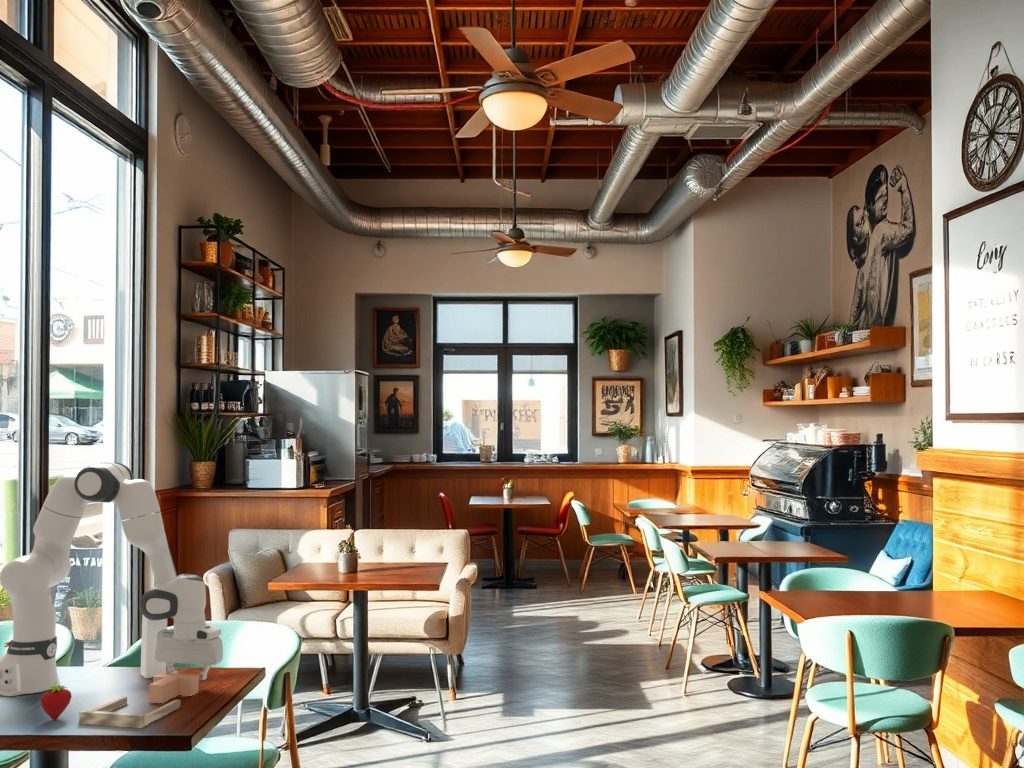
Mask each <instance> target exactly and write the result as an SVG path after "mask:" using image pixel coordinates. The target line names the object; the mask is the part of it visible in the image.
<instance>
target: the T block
mask: <svg viewBox="0 0 1024 768" xmlns="http://www.w3.org/2000/svg"><path fill="white" fill-rule="evenodd" d="M199 686H200V679H199V674H187V673H186V674H185V673H184V674H183V673H177V674H170V672H169V673H167V672H166V673H160V674H158V675H155V676H153V678H152V683H150V684H149V685H148V690H149V691H148V704H153V703H163V704H165V703H167V702H169V701H170V700H169V699H171V698H173V697H175V698H177V697H179V696H178V695H182V696H181V697H187V696H192V695H193V696H195V695H197V694H198V692H199V689H200V688H199ZM196 693H197V694H196ZM194 694H195V695H194ZM176 696H177V697H176ZM193 696H192V697H193ZM173 699H174V698H173ZM168 700H169V701H168ZM171 700H172V699H171ZM166 701H167V702H166ZM164 702H165V703H164Z"/></svg>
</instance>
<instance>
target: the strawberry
mask: <svg viewBox="0 0 1024 768" xmlns="http://www.w3.org/2000/svg"><path fill="white" fill-rule="evenodd" d="M55 684H56V683H55ZM55 684H54V685H55ZM50 688H51V689H47V690H45V691H46V692H45V691H44V692H45V693H43V695H41V698H40V704H41V708H42V709H43V710H44V713H45V714H47V716H49V717H50V719H51V720H54V721H55V720H58V719H59V717H60V716H61V715H62V714H63V712H64V711H66V709H67V707H68V706H69V704H70V702H71V699H72V692H71V691H70V690H69V689H67V688H68V687H65V685H61V686H60V685H59V686H56V687H55V686H54V687H50Z"/></svg>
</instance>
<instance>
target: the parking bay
mask: <svg viewBox="0 0 1024 768" xmlns="http://www.w3.org/2000/svg"><path fill="white" fill-rule="evenodd" d="M124 704H126V705H128V696H123V695H122V696H120V697H118V698H116V699H113V700H111V701H109V702H107V703H105V704H102V705H100V706H98V707H96V708H94V709H92V710H86V709H85V710H80V711H79V712H78V725H86V724H95V725H94V726H101V725H106V726H105V727H115V726H117V728H118V727H119V728H129V727H131V728H132V729H142V728H144V727H146V726H148V725H150V724H152V723H154V722H155V720H156V721H157V720H159V719H162V718H163V717H165V716H167V715H168V713H169V714H171V713H173V712H174V710H175V711H176V710H178V709H180V708H181V699H174V700H172V701H170V702H168V703H166V704H163V706H160V707H158V708H156V709H154V710H152V711H150V712H148V713H146V714H145V713H133V712H131V713H129V712H116V711H115V710H114V709H116V708H118V707H120V706H122V705H124ZM124 706H125V705H124ZM122 707H123V706H122ZM179 707H180V708H179ZM120 708H121V707H120ZM118 709H119V708H118ZM112 710H113V711H112ZM116 710H117V709H116ZM110 711H111V712H110ZM114 711H115V712H114ZM172 711H173V712H172ZM170 712H171V713H170ZM166 714H167V715H166ZM164 715H165V716H164ZM162 716H163V717H162ZM153 721H154V722H153ZM151 722H152V723H151ZM149 723H150V724H149Z"/></svg>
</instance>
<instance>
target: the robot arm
mask: <svg viewBox="0 0 1024 768" xmlns="http://www.w3.org/2000/svg"><path fill="white" fill-rule="evenodd" d="M89 502H94V503H107V504H109V503H111V502H112V503H114V504H115V505H116V506H117V509H118V512H119V516H120V521H121V525H122V530H123V533H124V536H125V538H126V540H127V542H128V543H129V544H131V545H132V546H134V547H136V548H138V549H139V550H141V551H142V552H143V553H144V554H146V555H145V556H146V557H147V558H148V560H149V563H150V564H149V565H150V567H151V570H152V574H153V579H154V581H155V584H154V585H155V586H154V587H152V588H150V589H148V590H147V591H146V592H144V593H143V595H141V598H140V601H139V610H140V612H141V615H142V614H143V615H144V617H146V618H147V619H149V620H162V619H166V618H167V619H169V618H171V619H172V620H173V629H167V630H166V629H162V630H161V631H159V632H158V634H157V644H156V650H155V659H156V661H157V662H166V669H167V671H168V672H169V673H170V674H178V670H176V669H175V667H174V665H175V664H191V665H192V664H193V665H202V669H203V670H202V672H200V673H198V675H199V680H202V681H203V680H206V679H207V678H208V675H207V674H208V672H209V670H210V669H211V666H216V665H218V664H220V663H221V662H222V661H223V659H224V645H223V640H222V639H221V637H220V636H221V634H222V629H221V628H220V627H217V626H215V625H213V624H210V623H208V622H206V614H205V608H206V605H207V592H206V591H207V590H206V583H205V580H204V579H203V578H202V577H201V576H199V575H197V574H192V573H191V574H190V573H182V574H179V575H178V573H177V570H176V567H175V563H174V559H173V556H172V552H171V549H170V546H169V543H168V539H167V534H166V531H165V526H164V521H163V517H162V511H161V507H160V504H159V500H158V498H157V494H156V493H155V489H154V487H153V485H152V483H150V481H148V480H146V479H141V478H135V477H134V473H133V471H132V470H131V468H130V467H128V466H127V465H126V464H124V463H120V462H101V463H96V464H91V465H87V466H86V467H84V468H82V469H81V470H80V471H79V472H78V473H65V474H62V475H60V476H58V478H57V479H56V481H55V482H54V483H53V485H52V487H51V488H50V491H49V492H48V494H47V496H46V498H45V500H44V502H43V505H42V507H41V510H40V511H39V514H38V516H37V518H36V521H35V522H34V525H33V528H32V532H33V535H34V543H33V548H32V549H31V552H30V553H29V554H25V555H21V556H18V557H16V558H13V559H12V560H11V561H10V562H8V563H7V564H6V565H4V566H3V567H2V569H1V571H0V584H1V585H0V586H1V587H2V589H3V590H4V591H6V593H7V594H8V596H9V599H10V603H11V607H12V617H13V618H12V620H13V623H12V624H13V625H12V626H13V628H12V629H13V630H12V631H13V632H12V640H10V641H8V642H5V643H4V645H3V648H7V647H8V648H7V650H6V653H5V654H3V655H2V656H1V657H0V696H3V697H4V696H5V697H15V696H20V695H25V694H26V695H27V694H35V693H37V694H38V693H42V692H45V690H47V689H51V688H50V687H54V686H55V687H56V686H58V687H60V685H61V683H60V679H59V675H58V669H57V661H56V659H57V658H56V655H57V649H58V637H57V636H56V633H57V630H56V627H57V610H56V607H55V606H54V605H53V604H52V603H51V599H50V594H49V588H52V587H55V586H57V585H59V584H60V583H61V582H63V581H64V580H65V579H66V578H67V577H68V576H69V574H70V573H71V570H72V569H71V568H72V564H71V560H70V553H71V547H72V542H73V540H74V536H75V534H76V531H77V529H78V526H79V524H80V522H81V519H82V517H83V514H84V512H85V509H86V507H87V505H88V504H89ZM160 632H161V633H160ZM55 683H56V684H55ZM54 684H55V685H54Z"/></svg>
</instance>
